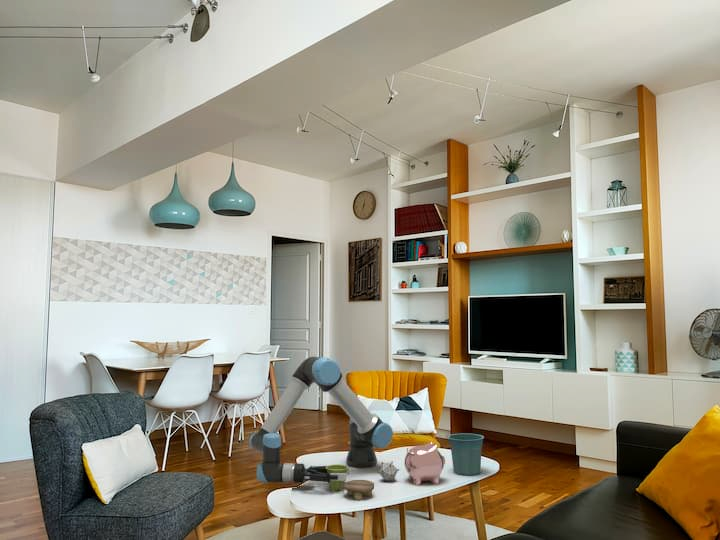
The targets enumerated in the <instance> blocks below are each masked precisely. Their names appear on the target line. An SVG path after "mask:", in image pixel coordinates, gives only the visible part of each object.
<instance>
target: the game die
mask: <svg viewBox="0 0 720 540" xmlns="http://www.w3.org/2000/svg"><path fill="white" fill-rule="evenodd" d="M393 462H394V461H391V462H383V461H382V462H381V467H380V470H379V471H378V472H377V474H378V475H380V476H381V478H382V479H383V483H385V482H386V481H394V482H396V476H397V473H398V471H400V469H398V468H397V467H396V466H395V465H394V463H393Z"/></svg>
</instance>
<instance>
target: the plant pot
mask: <svg viewBox="0 0 720 540" xmlns="http://www.w3.org/2000/svg"><path fill="white" fill-rule="evenodd" d="M325 466H326V469H327V473H328V474H330V473H346V472H347V469H348V467H349V466H348V465H345V464H329V465H325ZM345 482H346V481H330V483H328V485H329V486H328V487H329V490H331V491H342V490H343V491H344V490H345V489H344V483H345Z"/></svg>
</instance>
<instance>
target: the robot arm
mask: <svg viewBox="0 0 720 540" xmlns="http://www.w3.org/2000/svg"><path fill="white" fill-rule="evenodd" d="M343 375H344V374H343V373H342V372H341V367H340V365H339V363H338V362H337V361H335V360H334V359H332V358H331V357H330V358H329V357H326V356H325V357H322V356H321V357H320V356H309V357H308V358H306V359H304V360H303V361H302V362H301V363H300V364H299V366H298V367H297V368H296V370H295V371H294V372H293V374H292V375H291V377H290V379H291V381H290V383H289V384H288V386H287V387H286V389H285V390H284V391H283V393H282V395H281V396H280V397H279V399H278V401H277V402H276V404H275V405H274V407H273V408H272V410H271V411H270V413H269V415H268V416H267V417H266V419H265V420H264V422H263V424H262V425H261V427H260V429H259V430H258V431H257V432H254V433H253V434H252V435H250V438H249V441H248V442H249V443H248V444H249V446H250V448H252V449H253V450H254V451H256V452H258V453H259V454H262V461H261V462H259V464H258V465H257V467H256V468H257V469H256V479H257V480H258V481H259V482H260V483H261V482H263V483H286V484H289V483H295V484H297V483H298V484H299V483H304V481H305V482H306V481H307V482H308V481H311V482H319V483H321V482H322V483H328V484H329V483H330V481H345V482H347V475H350V467H353V468H372V467H375V466H376V464H378V458H377V455H376V452H375V450H374V449H385V448H387V447H388V446H389V445H390V443H392V441H393V440H392V439H393V434H394V431H393V428H392V426H391V425H390V424H389V423H387V422H384V421H382V419H381V418H380V417H379V416H378V414H376V413H372V412H371V411H370V410H369V409H368V408H367V407H366V405H365V404H364V402H362V401H361V399H359V397H358V396H357V395H356V393H354V391H353V390H352V389H351V388H350V386H349V385H348V384H347V383H346V382H345V381H344V380H343ZM313 384H316V385H317V386H318V388H319V389H320V390H321V391H322V392H323V393H328V394H329V395H330V396H331V398H332V399H334V401H335V402H336V403H337V404H338V405H339V407H340V408H341V409H342V410H343V411H344V412H345V413H346V415H347V416H348V417H349V418H350V419H349V424H348V425H349V449H348V452H347V456H346V459H345V462H346V463H345V464H346V466H348V469H347V472H346V473H330V474H328V473H327V469H326V466H327V465H321V466H320V465H316V466H314V465H313V466H312V465H310V466H309V467H307V468H306V467H305V464H304V463H294V462H292V463H290V462H287V463H286V462H284V463H282V461H281V460H282V459H281V458H282V457H281V455H282V453H281V452H282V450H281V449H282V439H281V434H279V433H278V432H279V431H280V429H281V427H282V426H283V425H284V423H285V421H286V420H287V418H288V417H289V415H290V414H291V412H292V411H293V410H294V408H295V406H296V405H297V403H298V402H299V400H300V399H301V397H302V395H304V392H305V391H306V390H308V389H310V387H311V385H313ZM371 466H372V467H371Z"/></svg>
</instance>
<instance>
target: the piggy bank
mask: <svg viewBox="0 0 720 540" xmlns="http://www.w3.org/2000/svg"><path fill="white" fill-rule="evenodd" d="M438 447H439V445H438V444H436V443H435V444H434V442H433V440H432V441H429V442H427V443H426V444H422V445H421V444H419V445H415V446H413V447H410V449H409V447H406V455H405V457H404V467H405V471H406V472H407V474H408V476H407V477H408V478H407V480H409V481H413V485H415V486H420V485H421V484H422V482H431V483H432V484H434V485H438V484H440V476H441V475H442V472H443V470H444V466H445V465H446V457H445V456H444V455H442V454H441V452H440V451H439V450H438Z"/></svg>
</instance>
